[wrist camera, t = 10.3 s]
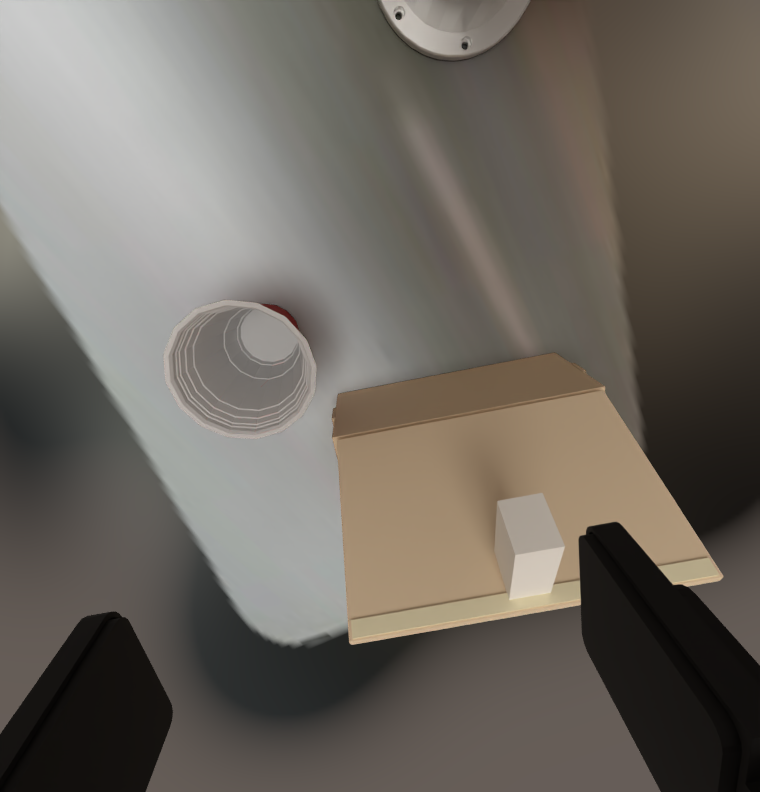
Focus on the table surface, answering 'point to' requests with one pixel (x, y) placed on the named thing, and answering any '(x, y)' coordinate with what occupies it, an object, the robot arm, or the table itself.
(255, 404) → the plastic cup
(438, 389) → the carton
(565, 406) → the flap
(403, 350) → the table surface
